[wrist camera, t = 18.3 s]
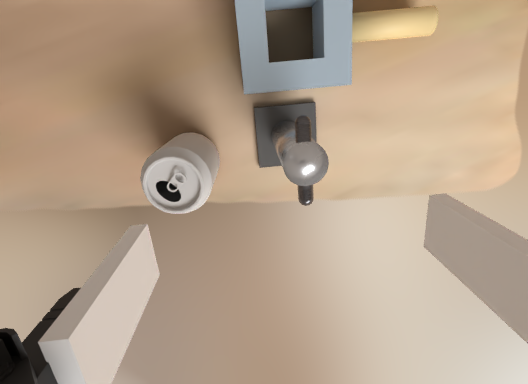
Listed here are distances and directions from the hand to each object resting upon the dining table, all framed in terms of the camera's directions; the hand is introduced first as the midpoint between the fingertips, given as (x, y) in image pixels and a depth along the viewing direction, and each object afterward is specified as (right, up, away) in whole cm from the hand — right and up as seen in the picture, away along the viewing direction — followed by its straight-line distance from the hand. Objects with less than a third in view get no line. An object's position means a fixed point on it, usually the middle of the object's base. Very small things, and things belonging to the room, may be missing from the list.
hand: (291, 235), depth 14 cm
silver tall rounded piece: (+2, +10, +27) cm, 28 cm away
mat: (+2, +10, +27) cm, 29 cm away
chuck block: (+7, +22, +23) cm, 32 cm away
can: (-11, +7, +28) cm, 31 cm away
